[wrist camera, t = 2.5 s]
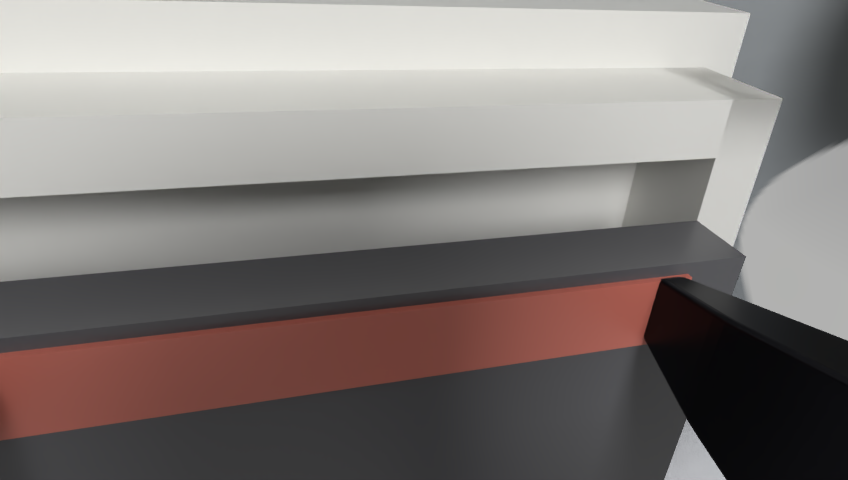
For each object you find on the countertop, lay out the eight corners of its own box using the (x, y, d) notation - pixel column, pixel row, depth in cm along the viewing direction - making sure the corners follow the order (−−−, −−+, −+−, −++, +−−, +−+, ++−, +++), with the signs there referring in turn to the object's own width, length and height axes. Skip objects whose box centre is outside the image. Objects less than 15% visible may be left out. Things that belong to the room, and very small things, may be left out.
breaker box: (527, 560, 24) (596, 704, 20) (42, 679, 20) (1, 897, 16) (656, -13, 15) (838, 36, 11) (-231, -42, 10) (-529, 24, 6)
